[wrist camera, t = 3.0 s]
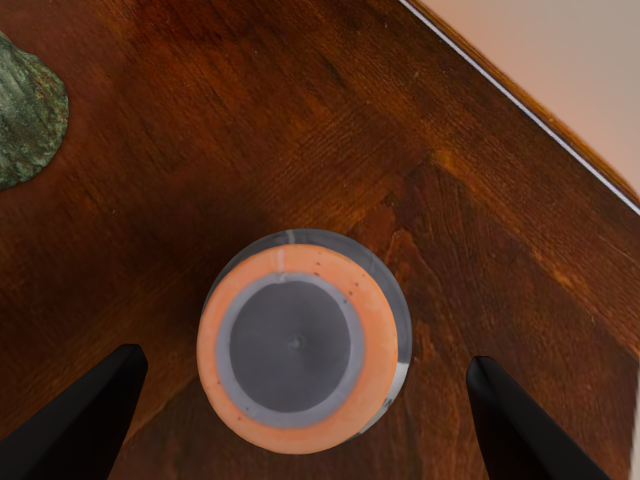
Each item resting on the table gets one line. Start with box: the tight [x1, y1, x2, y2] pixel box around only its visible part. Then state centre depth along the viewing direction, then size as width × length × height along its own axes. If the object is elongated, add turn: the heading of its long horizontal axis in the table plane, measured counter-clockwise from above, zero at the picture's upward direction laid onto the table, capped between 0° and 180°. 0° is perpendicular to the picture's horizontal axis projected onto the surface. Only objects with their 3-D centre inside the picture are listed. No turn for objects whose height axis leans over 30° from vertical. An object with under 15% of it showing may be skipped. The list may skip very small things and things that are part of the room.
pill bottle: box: [197, 228, 412, 454], centre depth 12 cm, size 6×6×11 cm
